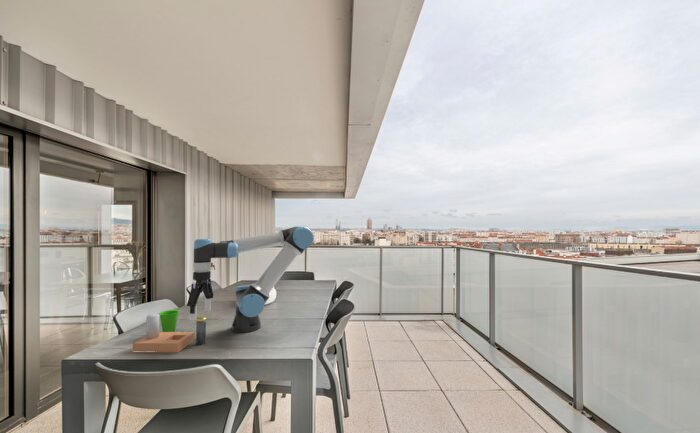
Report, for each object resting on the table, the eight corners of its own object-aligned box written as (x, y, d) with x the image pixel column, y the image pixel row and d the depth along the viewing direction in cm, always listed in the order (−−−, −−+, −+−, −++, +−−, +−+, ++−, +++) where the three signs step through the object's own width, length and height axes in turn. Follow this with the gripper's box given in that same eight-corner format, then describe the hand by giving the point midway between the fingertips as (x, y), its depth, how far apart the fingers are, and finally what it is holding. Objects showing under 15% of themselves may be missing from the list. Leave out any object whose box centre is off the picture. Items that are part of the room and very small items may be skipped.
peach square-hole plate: (194, 340, 144) (195, 311, 145) (178, 352, 130) (178, 320, 131) (153, 340, 144) (154, 311, 145) (132, 352, 130) (133, 320, 131)
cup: (169, 337, 148) (170, 315, 149) (154, 336, 150) (154, 314, 150) (183, 331, 157) (183, 310, 157) (168, 330, 159) (168, 309, 159)
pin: (208, 341, 143) (208, 316, 143) (203, 345, 138) (203, 319, 139) (198, 341, 143) (198, 316, 143) (193, 345, 138) (193, 319, 139)
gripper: (206, 267, 154) (205, 308, 153) (179, 275, 129) (177, 324, 128) (221, 267, 154) (219, 308, 153) (196, 275, 129) (194, 324, 128)
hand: (200, 316), depth 141 cm, fingers open, 13 cm apart
